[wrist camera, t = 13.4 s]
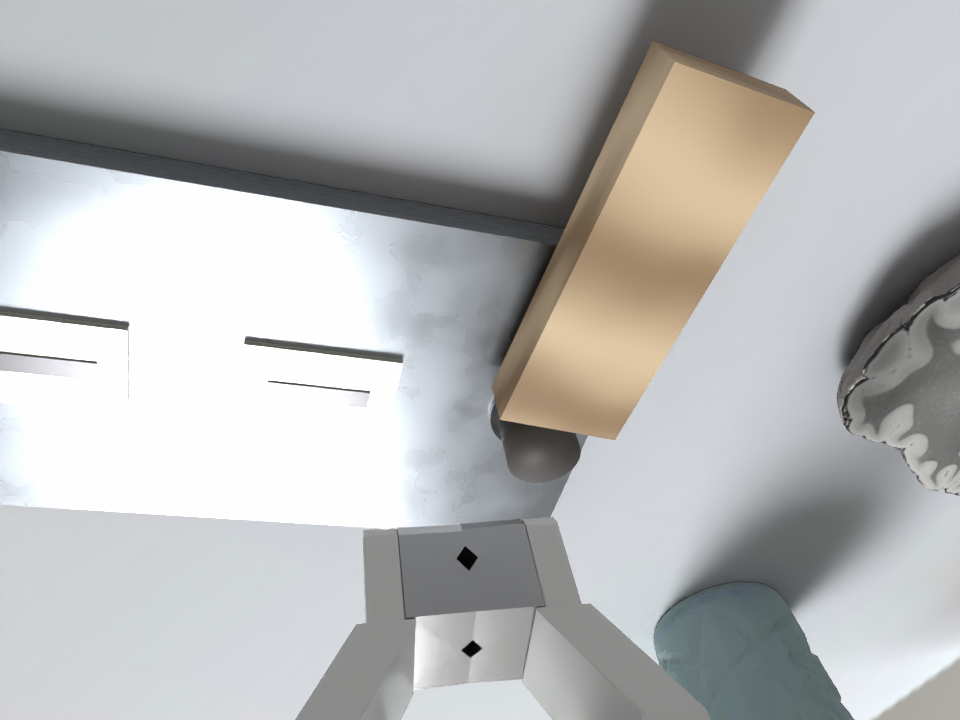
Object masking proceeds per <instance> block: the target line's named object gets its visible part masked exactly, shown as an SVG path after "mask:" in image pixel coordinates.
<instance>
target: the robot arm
mask: <svg viewBox="0 0 960 720" xmlns="http://www.w3.org/2000/svg"><path fill="white" fill-rule="evenodd" d="M363 557H364V595H365V623H360V624H356V626H355V627H354V629H353V631H352V632H351V634H350V635H349V637H348V638H347V640H346V641H345V643H344V645H343V646H342V648H341V649H340V651H339V652H338V654H337V655H336V657H335V659H334V660H333V662H332V663H331V665H330V666H329V668H328V670H327V671H326V673H325V674H324V676H323V677H322V679H321V680H320V682H319V684H318V685H317V687H316V688H315V690H314V691H313V693H312V695H311V696H310V698H309V699H308V701H307V702H306V704H305V705H304V707H303V709H302V710H301V712H300V713H299V715H298V716H297V718H296V720H401V719H402V717H403V714H404V712H405V710H406V708H407V706H408V704H409V702H410V700H411V698H412V695H413V690H418V689H426V688H433V687H441V686H449V685H457V684H464V683H476V682H490V681H503V680H517V679H523V680H522V682H523V684H524V685H525V686H526V687H527V689H528V690H529V691H530V692H531V693H532V695H533V696H534V697H535V698H536V700H537V701H538V702H539V703H540V705H541V706H542V707H543V708H544V710H545V711H546V712H547V713H548V714H549V716H550V717H551V718H552V719H553V720H711V719H710V717H709V714H708V712H707V709H706V708H705V707H704V706H703V705H702V704H700V703H699V702H698V701H697V700H696V699H695V698H694V697H693V696H692V695H691V694H689V693H688V692H687V691H686V690H685V689H684V688H683V687H682V686H681V685H680V684H678V683H677V682H676V681H675V680H674V679H673V678H672V677H671V676H670V675H669V674H667V673H666V672H665V671H664V670H663V669H662V668H661V667H660V666H659V665H658V664H656V663H655V662H654V661H653V660H652V659H651V658H650V657H649V656H648V655H647V654H646V653H644V652H643V651H642V650H641V649H640V648H639V647H638V646H637V645H636V644H635V643H633V642H632V641H631V640H630V639H629V638H628V637H627V636H626V635H625V634H624V633H622V632H621V631H620V630H619V629H618V628H617V627H616V626H615V625H614V624H613V623H611V622H610V621H609V620H608V619H607V618H606V617H605V616H604V615H603V614H602V613H600V612H599V611H598V610H597V609H596V608H595V607H594V606H593V605H592V604H581V601H580V597H579V594H578V591H577V587H576V584H575V581H574V577H573V574H572V570H571V567H570V564H569V560H568V557H567V554H566V550H565V547H564V544H563V540H562V537H561V533H560V530H559V527H558V523H557V521H556V520H555V519H554V518H553V517H549V518H534V519H522V520H520V519H512V520H500V521H487V522H475V523H463V524H459V525H445V526H422V527H398V528H397V530H396V528H383V529H364V531H363Z"/></svg>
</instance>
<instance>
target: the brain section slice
mask: <svg viewBox="0 0 960 720" xmlns="http://www.w3.org/2000/svg"><path fill="white" fill-rule="evenodd" d="M837 403H838V409H839V413H840V416H841V419H842V421H843V424H844V425H845V427H846V429H847V430H848V431H849V432H850V433H851V434H854V435H861V436H862V437H863V438H865V439H866V440H870V441H873V442H882V443H885V444H887V445H889V446H892V447H894V448H896V449H898V450H900V452H901V454H902V456H903V458H904V459H905V461H906V463H907V465H908V467H909V468H910V470H911V471H912V472H913V473H914V474H916V476H917V479H918V481H919V482H920V483H921V484H922V485H923V486H924V487H925V488H926V489H928V490H934V491H938V490H940V489H945V493H950V494H955V495H958V496H960V254H959V255H957V256H956V257H954V258H952V259H951V260H949V261H947V262H946V263H945V264H943V265H942V266H941V267H939V268H938V269H937V270H936V271H934V272H933V273H931V274H929V275H928V276H927V277H926V278H925V279H924V280H923V281H922V282H921V283H920V284H919V285H918V286H917V287H916V289H915V290H914V291H913V293H912V294H911V295H910V297H909V298H908V300H907V302H906V305H903V306H902V307H900V308H899V309H898V310H897V311H895V312H894V313H893V314H892V315H891V316H890V317H889V318H888V319H887V320H886V321H883V322H881V323H880V324H878V325H876V326H875V327H874V328H873V329H872V330H870V331H869V332H868V333H867V335H866V336H865V337H864V338H863V341H862V343H861V345H860V347H859V349H858V351H857V352H856V354H855V356H854V357H853V359H852V360H851V362H850V364H849V365H848V367H847V368H846V370H845V372H844V373H843V375H842V377H841V381H840V384H839V387H838V393H837Z"/></svg>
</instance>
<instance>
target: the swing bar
mask: <svg viewBox="0 0 960 720" xmlns="http://www.w3.org/2000/svg"><path fill="white" fill-rule="evenodd" d="M814 113H815V112H814V111H812V110H811V109H810V108H809V107H807V106H806V105H805V104H804V103H802V102H801V101H800V100H798V99H797V98H796V97H795V96H793V95H792V94H791V93H790V92H788V91H787V90H786V89H783V88H780V87H778V86H775V85H772V84H769V83H767V82H764V81H761V80H759V79H756V78H753V77H750V76H748V75H745V74H742V73H740V72H737V71H734V70H731V69H729V68H726V67H723V66H720V65H718V64H715V63H712V62H710V61H707V60H704V59H701V58H699V57H696V56H693V55H691V54H688V53H685V52H682V51H680V50H677V49H674V48H671V47H669V46H666V45H663V44H661V43H658V42H655V41H652V43H651V45H650V47H649V49H648V52H647V54H646V56H645V58H644V60H643V62H642V65H641V67H640V69H639V71H638V73H637V75H636V77H635V80H634V82H633V84H632V86H631V88H630V90H629V92H628V95H627V97H626V99H625V101H624V103H623V105H622V107H621V110H620V112H619V114H618V116H617V118H616V120H615V123H614V125H613V127H612V129H611V131H610V133H609V135H608V138H607V140H606V142H605V144H604V146H603V148H602V150H601V153H600V155H599V157H598V159H597V161H596V163H595V165H594V168H593V170H592V172H591V174H590V176H589V178H588V181H587V183H586V185H585V187H584V189H583V191H582V193H581V196H580V198H579V200H578V202H577V204H576V206H575V208H574V211H573V213H572V215H571V217H570V219H569V221H568V223H567V226H566V228H565V230H564V232H563V234H562V236H561V239H560V241H559V243H558V245H557V247H556V249H555V251H554V254H553V256H552V258H551V260H550V262H549V264H548V266H547V269H546V271H545V273H544V275H543V277H542V279H541V282H540V284H539V286H538V288H537V290H536V292H535V294H534V297H533V299H532V301H531V303H530V305H529V307H528V309H527V312H526V314H525V316H524V318H523V320H522V322H521V324H520V327H519V329H518V331H517V333H516V335H515V337H514V340H513V342H512V344H511V346H510V348H509V350H508V352H507V355H506V357H505V359H504V361H503V363H502V365H501V367H500V370H499V372H498V374H497V376H496V378H495V380H494V382H493V385H492V389H493V393H494V397H495V402H496V406H497V410H498V414H499V418H500V424H499V430H500V435H501V439H502V444H503V448H504V452H505V456H506V461H507V465H508V468H509V470H510V472H511V473H512V474H513V475H514V476H515V477H517V478H518V479H520V480H522V481H525V482H530V483H544V482H549V481H553V480H555V479H558V478H560V477H562V476H564V475H565V474H567V473H568V472H570V471H571V470H572V469H573V468H574V466H575V465H576V464H577V462H578V460H579V458H580V453H581V449H580V445H579V442H578V439H577V436H576V433H578V434H583V435H589V436H595V437H600V438H606V439H612V440H615V439H616V437H617V436H618V434H619V432H620V431H621V429H622V428H623V426H624V424H625V423H626V421H627V419H628V418H629V416H630V414H631V413H632V411H633V409H634V408H635V406H636V405H637V403H638V401H639V400H640V398H641V396H642V395H643V393H644V391H645V390H646V388H647V387H648V385H649V383H650V382H651V380H652V378H653V377H654V375H655V373H656V372H657V370H658V369H659V367H660V365H661V364H662V362H663V360H664V359H665V357H666V355H667V354H668V352H669V350H670V349H671V347H672V346H673V344H674V342H675V341H676V339H677V337H678V336H679V334H680V332H681V331H682V329H683V328H684V326H685V324H686V323H687V321H688V319H689V318H690V316H691V314H692V313H693V311H694V309H695V308H696V306H697V305H698V303H699V301H700V300H701V298H702V296H703V295H704V293H705V291H706V290H707V288H708V287H709V285H710V283H711V282H712V280H713V278H714V277H715V275H716V273H717V272H718V270H719V269H720V267H721V265H722V264H723V262H724V260H725V259H726V257H727V255H728V254H729V252H730V250H731V249H732V247H733V246H734V244H735V242H736V241H737V239H738V237H739V236H740V234H741V232H742V231H743V229H744V228H745V226H746V224H747V223H748V221H749V219H750V218H751V216H752V214H753V213H754V211H755V210H756V208H757V206H758V205H759V203H760V201H761V200H762V198H763V196H764V195H765V193H766V191H767V190H768V188H769V187H770V185H771V183H772V182H773V180H774V178H775V177H776V175H777V173H778V172H779V170H780V169H781V167H782V165H783V164H784V162H785V160H786V159H787V157H788V155H789V154H790V152H791V150H792V149H793V147H794V146H795V144H796V142H797V141H798V139H799V137H800V136H801V134H802V132H803V131H804V129H805V128H806V126H807V124H808V123H809V121H810V119H811V118H812V116H813V114H814Z"/></svg>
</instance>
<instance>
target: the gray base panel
mask: <svg viewBox="0 0 960 720" xmlns="http://www.w3.org/2000/svg"><path fill="white" fill-rule="evenodd" d="M564 230H565V228H561V227H555V226H549V225H544V224H538V223H532V222H527V221H521V220H515V219H510V218H504V217H498V216H492V215H487V214H481V213H475V212H470V211H464V210H458V209H453V208H447V207H441V206H436V205H430V204H424V203H419V202H413V201H407V200H402V199H396V198H390V197H385V196H379V195H373V194H368V193H362V192H356V191H350V190H345V189H339V188H333V187H328V186H322V185H316V184H311V183H305V182H299V181H294V180H288V179H282V178H277V177H271V176H265V175H260V174H254V173H248V172H243V171H237V170H231V169H226V168H220V167H214V166H208V165H203V164H197V163H191V162H186V161H180V160H174V159H169V158H163V157H157V156H152V155H146V154H140V153H135V152H129V151H123V150H118V149H112V148H106V147H101V146H95V145H89V144H84V143H78V142H72V141H66V140H61V139H55V138H49V137H44V136H38V135H32V134H27V133H21V132H15V131H10V130H4V129H0V505H14V506H31V507H47V508H63V509H79V510H96V511H112V512H128V513H144V514H161V515H177V516H193V517H209V518H225V519H242V520H258V521H274V522H290V523H307V524H323V525H339V526H355V527H372V528H396V529H397V528H398V527H422V526H445V525H459V524H463V523H475V522H487V521H500V520H512V519H520V520H522V519H534V518H549V517H550V516H551V514H552V512H553V510H554V508H555V506H556V503H557V501H558V499H559V497H560V495H561V493H562V490H563V488H564V486H565V484H566V482H567V480H568V477H569V475H570V473H571V471H572V470H571V471H570V472H568V473H567V474H565V475H564V476H562V477H560V478H558V479H555V480H553V481H549V482H544V483H530V482H525V481H522V480H520V479H518V478H517V477H515V476H514V475H513V474H512V473H511V472H510V470H509V468H508V465H507V461H506V456H505V452H504V448H503V444H502V439H501V435H500V430H499V424H500V418H499V414H498V410H497V406H496V402H495V397H494V393H493V389H492V385H493V382H494V380H495V378H496V376H497V374H498V372H499V370H500V367H501V365H502V363H503V361H504V359H505V357H506V355H507V352H508V350H509V348H510V346H511V344H512V342H513V340H514V337H515V335H516V333H517V331H518V329H519V327H520V324H521V322H522V320H523V318H524V316H525V314H526V312H527V309H528V307H529V305H530V303H531V301H532V299H533V297H534V294H535V292H536V290H537V288H538V286H539V284H540V282H541V279H542V277H543V275H544V273H545V271H546V269H547V266H548V264H549V262H550V260H551V258H552V256H553V254H554V251H555V249H556V247H557V245H558V243H559V241H560V239H561V236H562V234H563V232H564ZM576 436H577V439H578V442H579V445H580V449H582V447H583V445H584V443H585V441H586V438H587V436H588V435H583V434H578V433H576Z"/></svg>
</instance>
